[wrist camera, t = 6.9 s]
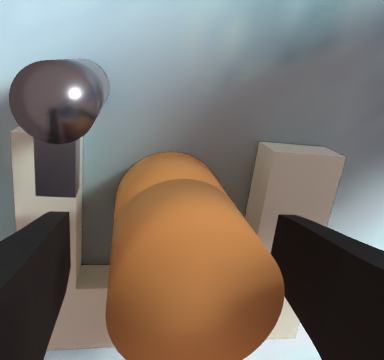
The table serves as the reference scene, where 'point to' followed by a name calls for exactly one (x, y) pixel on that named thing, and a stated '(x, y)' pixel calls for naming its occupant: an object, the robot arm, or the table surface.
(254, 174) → the beige u-shaped block
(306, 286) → the robot arm
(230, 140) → the table surface
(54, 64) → the hook post
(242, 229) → the orange rounded cylinder
